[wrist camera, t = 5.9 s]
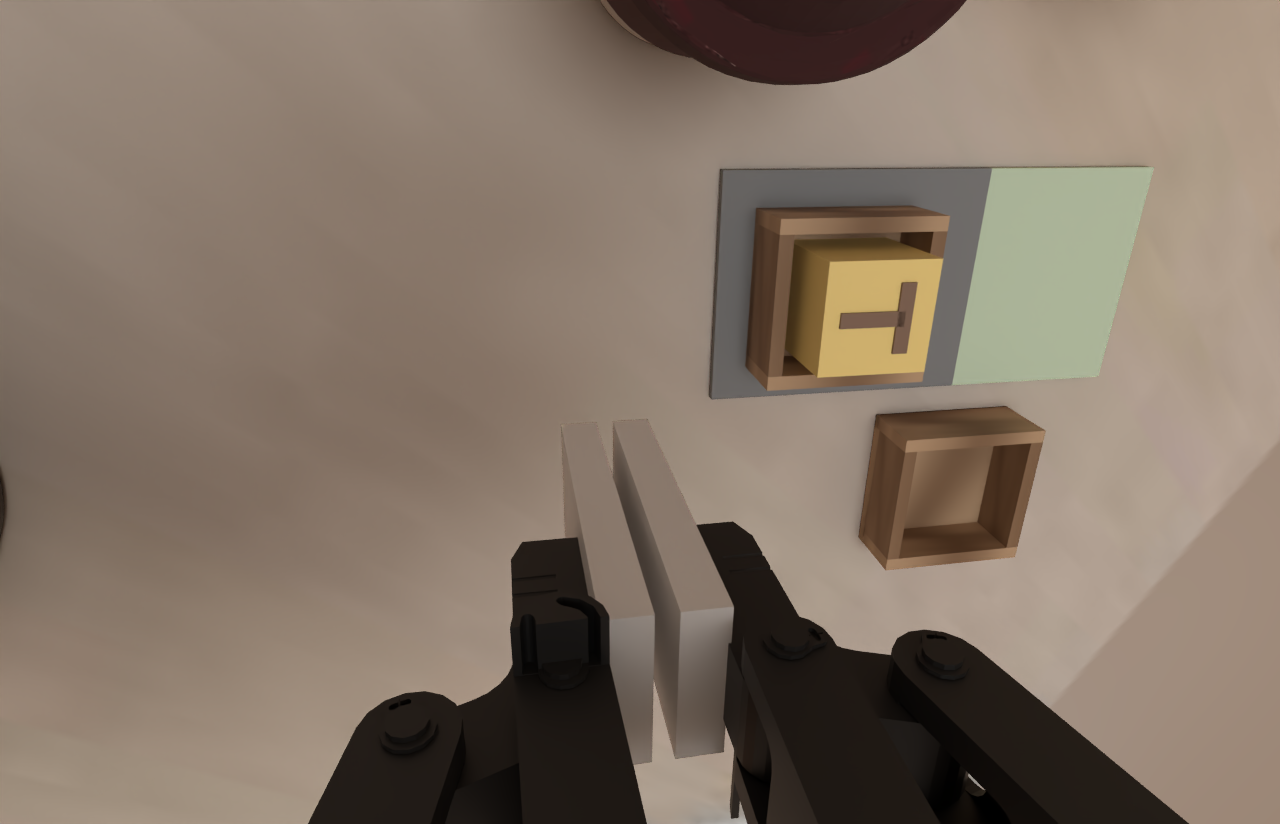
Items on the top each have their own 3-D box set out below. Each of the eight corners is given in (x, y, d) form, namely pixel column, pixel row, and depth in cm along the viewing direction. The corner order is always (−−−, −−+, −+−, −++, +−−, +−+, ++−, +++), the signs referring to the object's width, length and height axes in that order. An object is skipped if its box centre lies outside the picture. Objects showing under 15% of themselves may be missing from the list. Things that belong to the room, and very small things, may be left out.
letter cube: (777, 342, 33) (818, 378, 29) (786, 239, 31) (831, 262, 27) (872, 337, 34) (925, 372, 30) (886, 237, 32) (945, 259, 28)
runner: (709, 396, 34) (711, 399, 34) (720, 169, 31) (723, 170, 30) (1092, 373, 38) (1098, 376, 37) (1146, 166, 34) (1153, 167, 33)
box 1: (745, 366, 34) (767, 390, 31) (756, 207, 31) (781, 218, 28) (889, 359, 35) (922, 381, 32) (911, 205, 32) (950, 215, 29)
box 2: (858, 537, 39) (885, 570, 36) (876, 414, 36) (907, 440, 34) (979, 525, 40) (1014, 557, 38) (1005, 406, 38) (1045, 430, 35)
